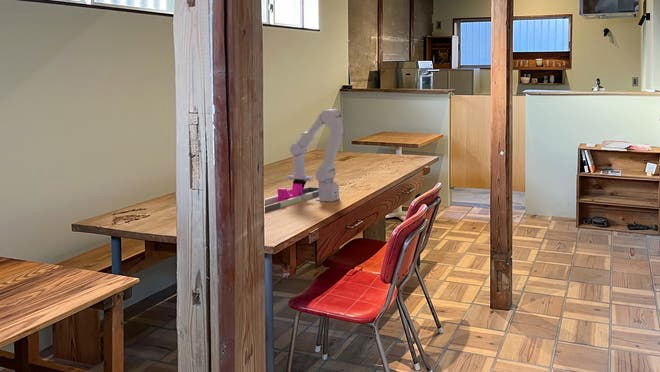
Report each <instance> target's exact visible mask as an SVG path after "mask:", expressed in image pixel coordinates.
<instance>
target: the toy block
mask: <svg viewBox="0 0 660 372" xmlns="http://www.w3.org/2000/svg"><path fill="white" fill-rule="evenodd" d="M287 189H288V188H284V187H283V188H282V187H279V188H277V195H278V201H277V202H280V201H283V200H287V199H290V198H293V197H297V196H300V195H303V193H302V184H293V183H292V188H291V189H288V190H287Z"/></svg>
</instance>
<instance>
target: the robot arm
mask: <svg viewBox="0 0 660 372" xmlns="http://www.w3.org/2000/svg"><path fill="white" fill-rule="evenodd" d="M343 116H344V115H343V114H342V112H341V111H340V110H339V109H338V108H332V109H331V108H330V109H324V110H322V111H321V113H320V114H318V117H317V118H316V120H315V121H314V122H313V124H312V125H311V126H310V128H309V129H308V131H304V132H302V133H301V134H300V135H301V136H300V137H299V138H298V139H297V140H295V143H292V144H291V146H290V149H289V151H290V153H291V155H292V165H293V166H292V169H293V171H292V172H293V173H292V174H288V175H286V180H292V185H293V184H302V193H303V189H304V188H305V187H306V186H305V185H306V183H307V182H313V176H309V175H306V165H305V154H306V152H307V149H308V147H309V146H310V145H311V143H312V142H313V141H314V139H315V138H314V136H315V135H316V134H317V133H318V132H319V130H320V129H321V128H322V127H323V126H324V125H326V126H327V127H328V128H329V130H330V134H329V139H328V142H327V145H326V148H325V149H326V150H325V153H324V157H323V161H321V164H320V165H319V167H318V169H317V171H316V172H315V179H316V181H317V183H318V187H319V196H318V198H315V199H314V200H315V201H319V202H329V203H330V202H331V203H333V202H335V201H339V200H340V199H341V197H340V186H339V183H338V182H334V178H335V177H336V174H337V173H336V168H337V166H336V164H335V161H336V159H337V155H338V150H339V147H340V144H341V140H342V137H343V133H344V124H343Z"/></svg>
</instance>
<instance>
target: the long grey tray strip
mask: <svg viewBox="0 0 660 372" xmlns="http://www.w3.org/2000/svg"><path fill="white" fill-rule="evenodd" d="M317 197H319V186H317V187H316V186H304V189H303V195H300V196H297V197H293V198H290V199H287V200H283V201H280V202H278V194H277V195H274V196H271V197H267V198H264V199H265V204H266V205H264V206H265V212H264V213H268V212H271V211H274V210H277V209H281V208H284V207H288V206H291V205H293V204H296V203H300V202H303V201H306V200H310V199H313V198H317Z"/></svg>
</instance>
